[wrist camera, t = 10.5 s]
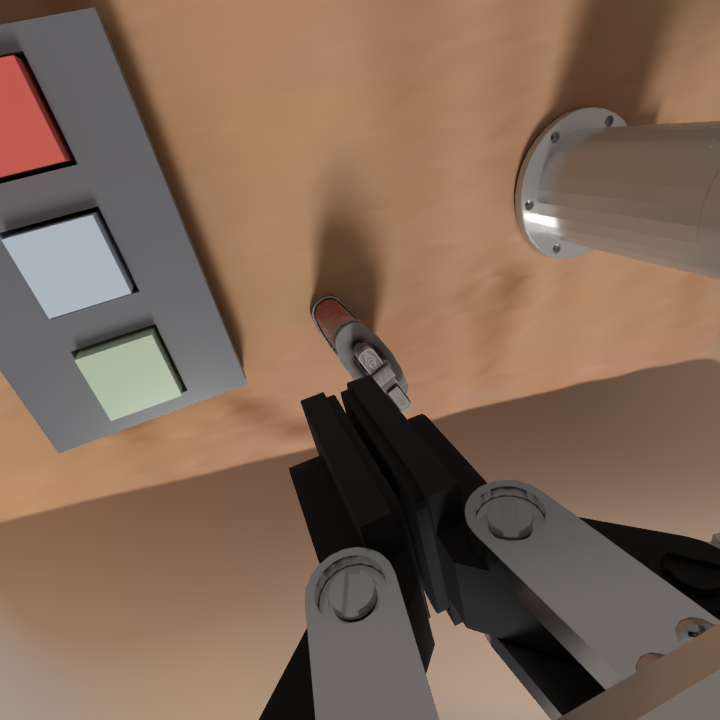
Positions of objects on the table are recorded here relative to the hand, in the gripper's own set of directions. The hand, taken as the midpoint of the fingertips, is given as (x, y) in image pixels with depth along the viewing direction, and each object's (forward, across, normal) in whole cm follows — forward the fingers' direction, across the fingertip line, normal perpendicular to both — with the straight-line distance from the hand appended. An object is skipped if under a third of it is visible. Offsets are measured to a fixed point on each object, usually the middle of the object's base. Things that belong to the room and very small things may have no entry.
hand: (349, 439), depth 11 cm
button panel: (+27, +10, -2) cm, 29 cm away
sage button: (+26, +10, +6) cm, 29 cm away
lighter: (+27, -6, +10) cm, 30 cm away
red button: (+26, +10, -10) cm, 30 cm away
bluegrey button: (+26, +10, -2) cm, 28 cm away
